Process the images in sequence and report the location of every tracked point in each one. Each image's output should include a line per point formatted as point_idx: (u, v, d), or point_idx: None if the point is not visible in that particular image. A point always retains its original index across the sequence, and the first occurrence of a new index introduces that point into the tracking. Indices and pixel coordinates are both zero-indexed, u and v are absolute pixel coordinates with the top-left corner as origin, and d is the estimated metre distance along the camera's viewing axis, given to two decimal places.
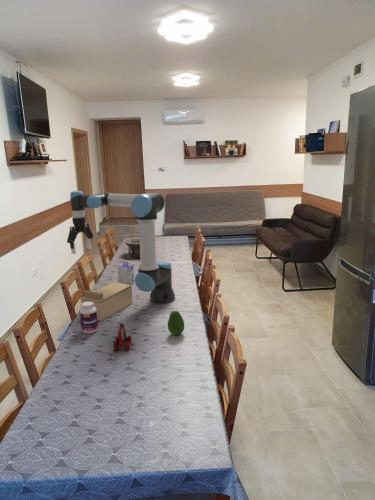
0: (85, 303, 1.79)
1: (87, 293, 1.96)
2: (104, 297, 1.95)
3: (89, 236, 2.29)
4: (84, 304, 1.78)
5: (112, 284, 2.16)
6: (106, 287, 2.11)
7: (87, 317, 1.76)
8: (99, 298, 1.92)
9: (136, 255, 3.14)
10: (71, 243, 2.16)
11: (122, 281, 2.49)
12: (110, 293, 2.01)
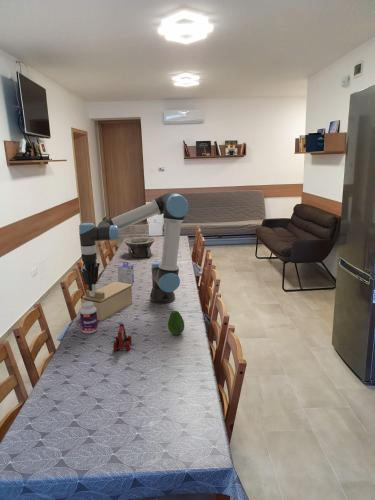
0: (85, 303, 1.79)
1: None
2: (105, 296, 1.96)
3: (94, 280, 1.93)
4: (84, 304, 1.78)
5: (113, 283, 2.17)
6: (107, 286, 2.12)
7: (87, 317, 1.76)
8: (100, 297, 1.93)
9: (136, 255, 3.14)
10: (89, 285, 1.91)
11: (122, 281, 2.49)
12: (111, 292, 2.02)
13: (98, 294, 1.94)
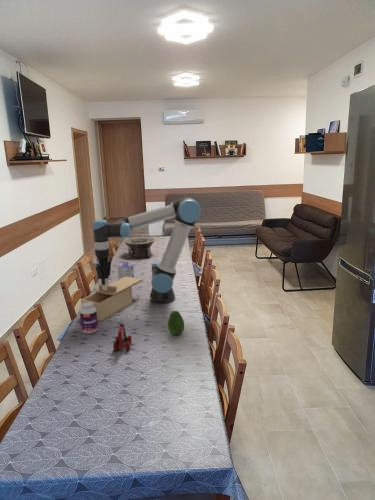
0: (85, 303, 1.79)
1: (101, 286, 2.05)
2: (117, 290, 2.05)
3: (106, 274, 2.02)
4: (84, 304, 1.78)
5: (123, 278, 2.26)
6: (118, 281, 2.21)
7: (87, 317, 1.76)
8: (113, 291, 2.02)
9: (136, 255, 3.14)
10: (102, 279, 2.00)
11: None
12: (122, 286, 2.11)
13: (110, 288, 2.03)
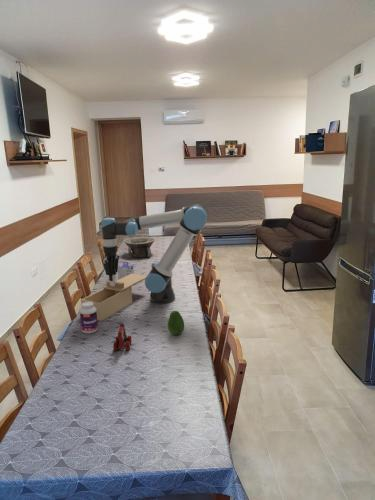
0: (85, 303, 1.79)
1: (109, 283, 2.11)
2: (125, 286, 2.11)
3: (114, 271, 2.08)
4: (84, 304, 1.78)
5: (130, 275, 2.32)
6: (125, 278, 2.26)
7: (87, 317, 1.76)
8: (120, 287, 2.08)
9: (136, 255, 3.14)
10: (110, 275, 2.06)
11: None
12: (129, 283, 2.17)
13: (118, 284, 2.08)
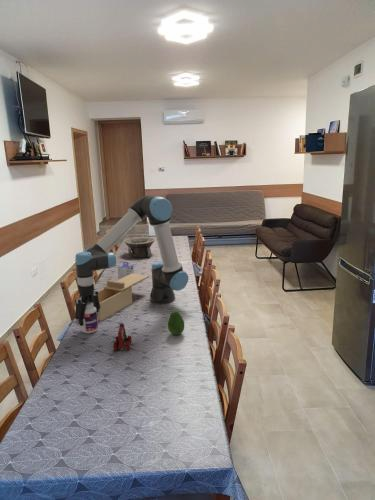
0: None
1: (109, 282, 2.12)
2: (125, 286, 2.11)
3: (96, 308, 1.83)
4: None
5: (130, 275, 2.32)
6: (126, 278, 2.27)
7: (87, 317, 1.76)
8: (121, 287, 2.08)
9: (136, 255, 3.14)
10: (80, 319, 1.75)
11: None
12: (130, 283, 2.17)
13: (118, 284, 2.09)
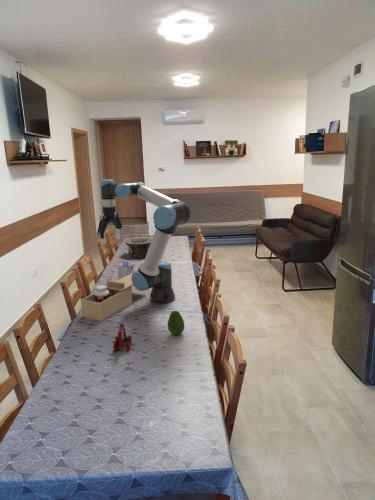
0: (99, 286, 2.00)
1: (109, 282, 2.12)
2: (125, 286, 2.11)
3: (118, 226, 2.23)
4: (98, 287, 1.99)
5: (130, 275, 2.32)
6: (126, 278, 2.27)
7: (101, 299, 1.98)
8: (121, 287, 2.08)
9: (136, 255, 3.14)
10: (101, 233, 2.11)
11: None
12: (130, 283, 2.17)
13: (118, 284, 2.09)
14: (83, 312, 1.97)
